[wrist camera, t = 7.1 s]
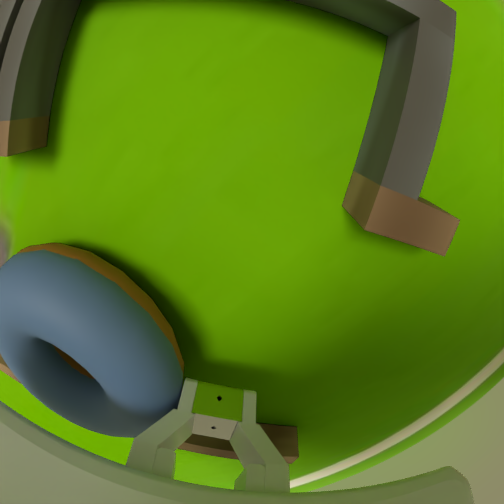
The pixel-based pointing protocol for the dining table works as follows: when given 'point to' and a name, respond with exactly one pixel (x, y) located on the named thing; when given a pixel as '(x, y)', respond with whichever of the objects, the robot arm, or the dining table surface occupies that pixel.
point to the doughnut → (87, 340)
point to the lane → (371, 151)
